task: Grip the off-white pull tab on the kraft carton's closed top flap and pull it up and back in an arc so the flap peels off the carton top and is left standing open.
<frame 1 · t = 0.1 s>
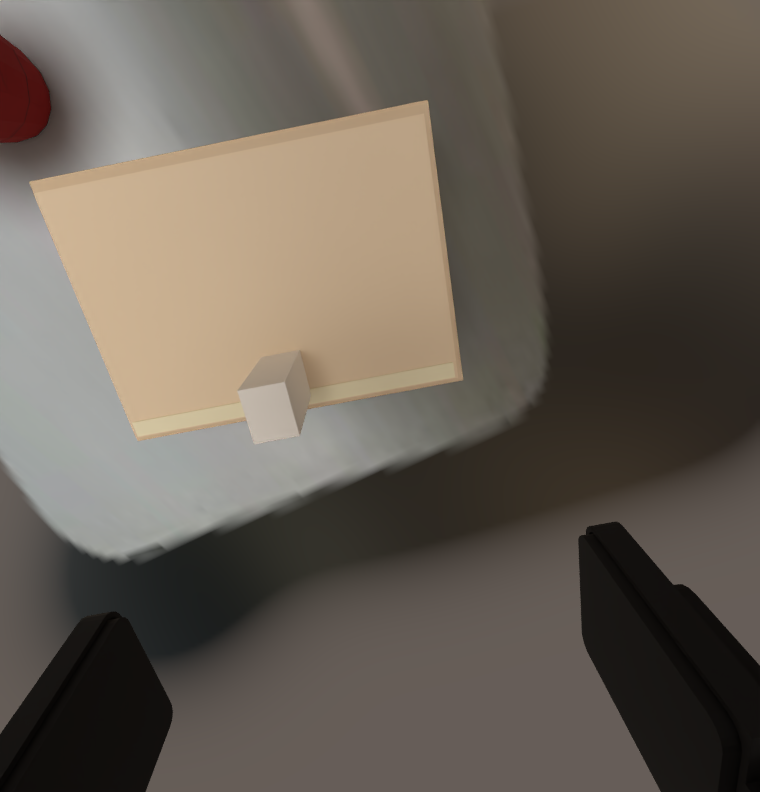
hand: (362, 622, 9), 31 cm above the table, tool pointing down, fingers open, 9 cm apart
flap: (254, 301, 24), point 13 cm above the table, hinge at 0.0°
plastic cup: (13, 98, 32), on the table
carton: (290, 272, 37), on the table
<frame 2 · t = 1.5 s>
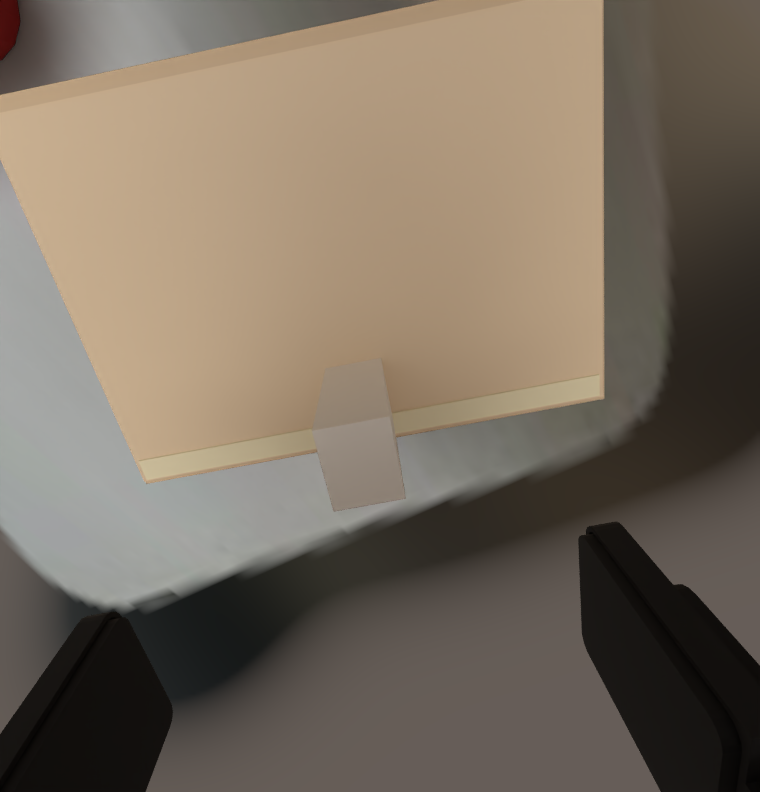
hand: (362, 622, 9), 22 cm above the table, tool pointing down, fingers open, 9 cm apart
flap: (329, 285, 16), point 13 cm above the table, hinge at 0.0°
carton: (342, 250, 28), on the table
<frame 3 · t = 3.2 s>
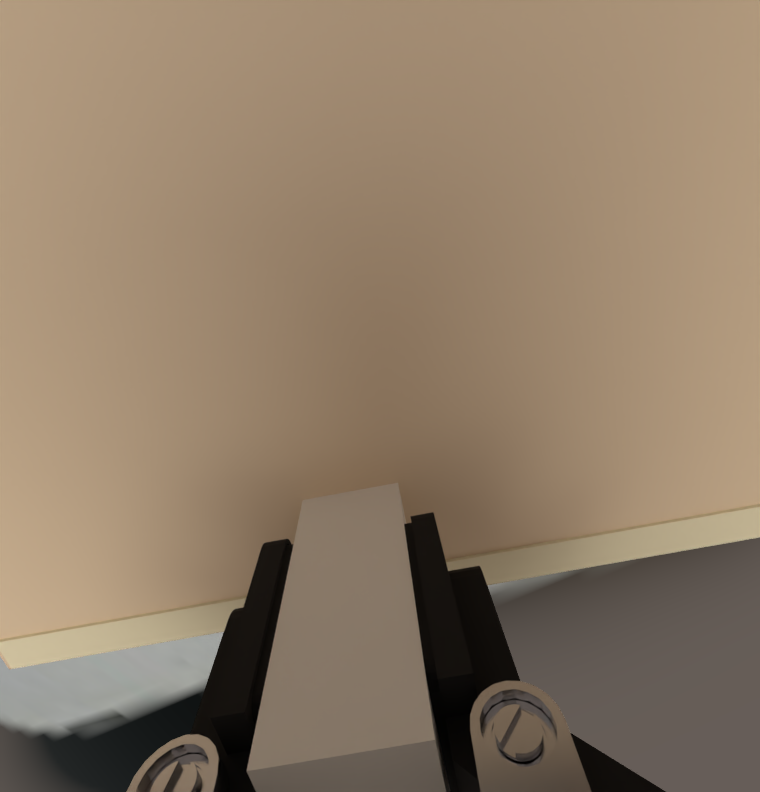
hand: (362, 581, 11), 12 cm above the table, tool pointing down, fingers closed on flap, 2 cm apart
flap: (299, 391, 8), point 13 cm above the table, hinge at 0.0°, touching gripper
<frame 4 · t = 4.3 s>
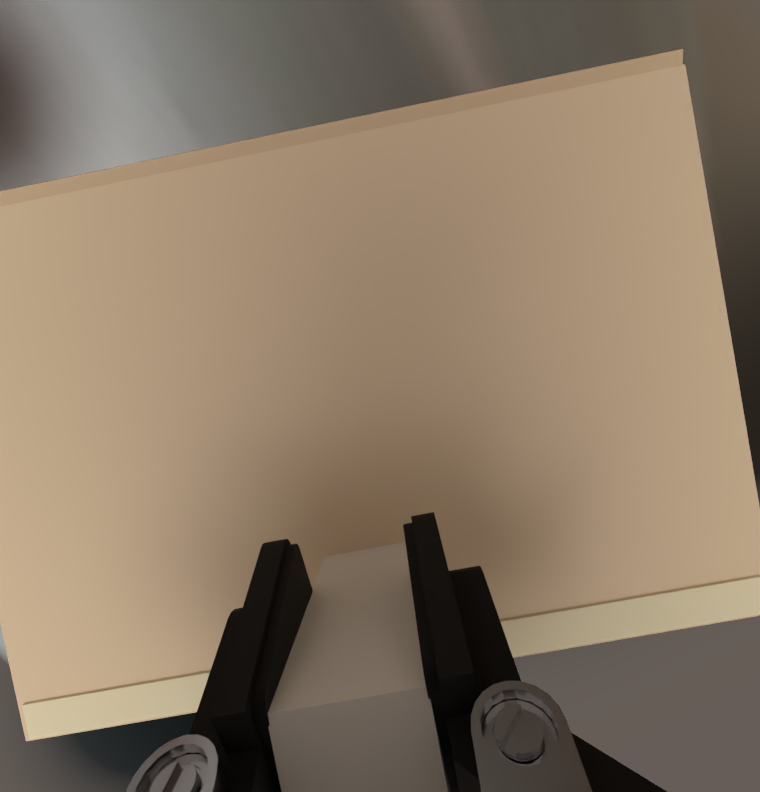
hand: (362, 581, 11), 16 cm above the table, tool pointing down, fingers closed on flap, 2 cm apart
flap: (328, 427, 10), point 16 cm above the table, hinge at 19.1°, touching gripper
carton: (353, 330, 25), on the table
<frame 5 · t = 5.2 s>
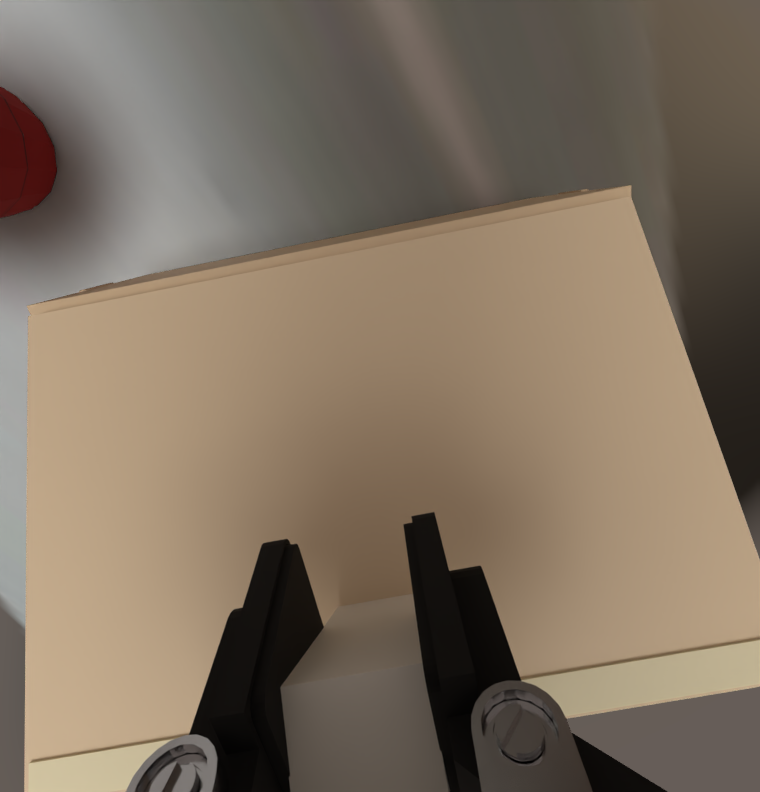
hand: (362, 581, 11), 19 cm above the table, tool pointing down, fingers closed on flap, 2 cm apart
flap: (345, 463, 11), point 17 cm above the table, hinge at 34.8°, touching gripper
plastic cup: (5, 157, 24), on the table
carton: (364, 370, 29), on the table
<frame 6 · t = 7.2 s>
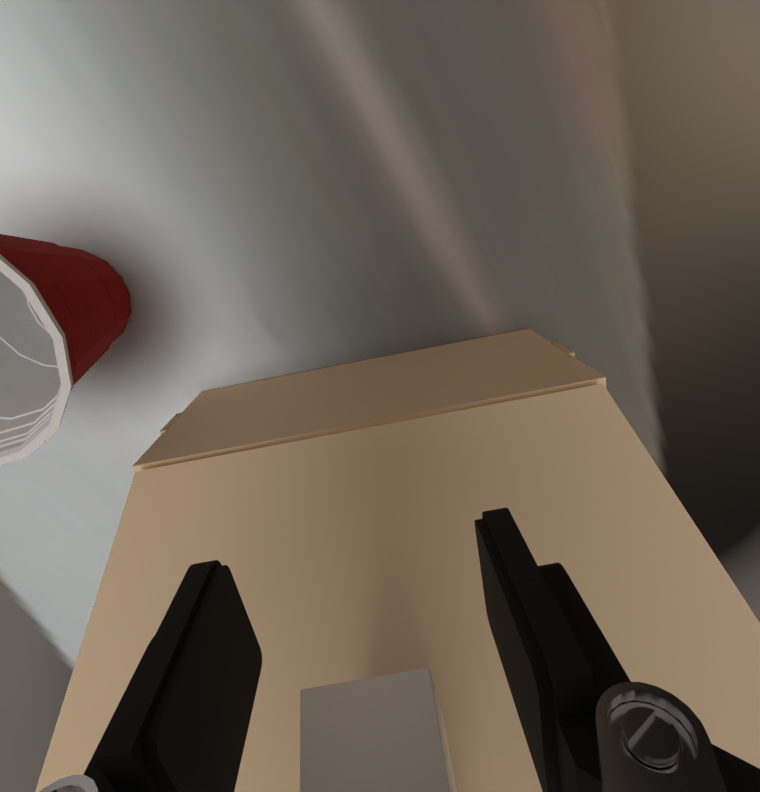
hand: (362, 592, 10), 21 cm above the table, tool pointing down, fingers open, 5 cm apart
flap: (372, 561, 13), point 18 cm above the table, hinge at 65.2°
plastic cup: (88, 301, 28), on the table
carton: (385, 464, 33), on the table
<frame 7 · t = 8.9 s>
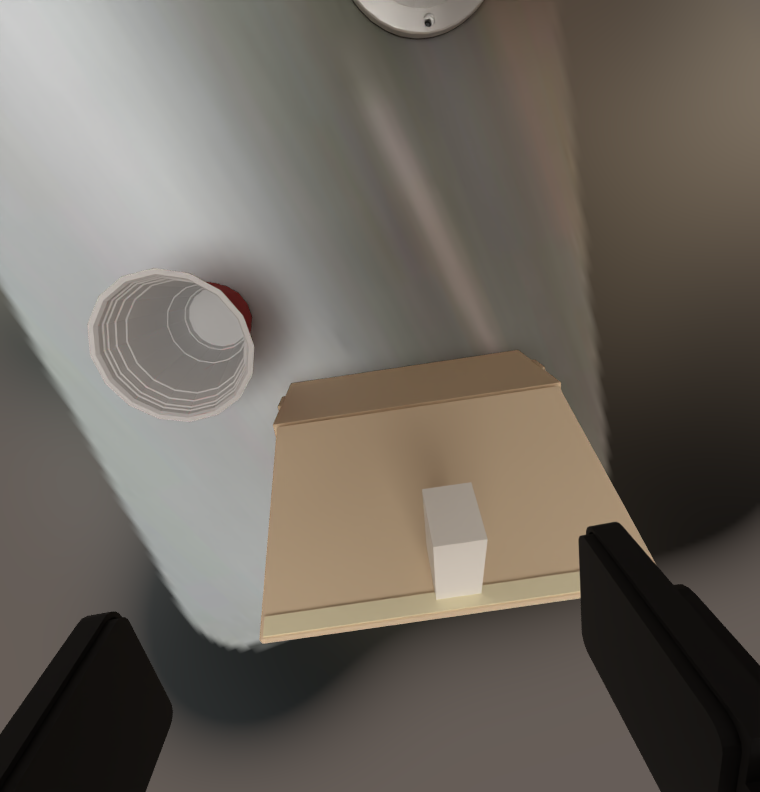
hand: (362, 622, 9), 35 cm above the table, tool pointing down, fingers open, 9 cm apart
flap: (434, 464, 27), point 18 cm above the table, hinge at 65.2°
plastic cup: (221, 318, 42), on the table
carton: (413, 441, 47), on the table
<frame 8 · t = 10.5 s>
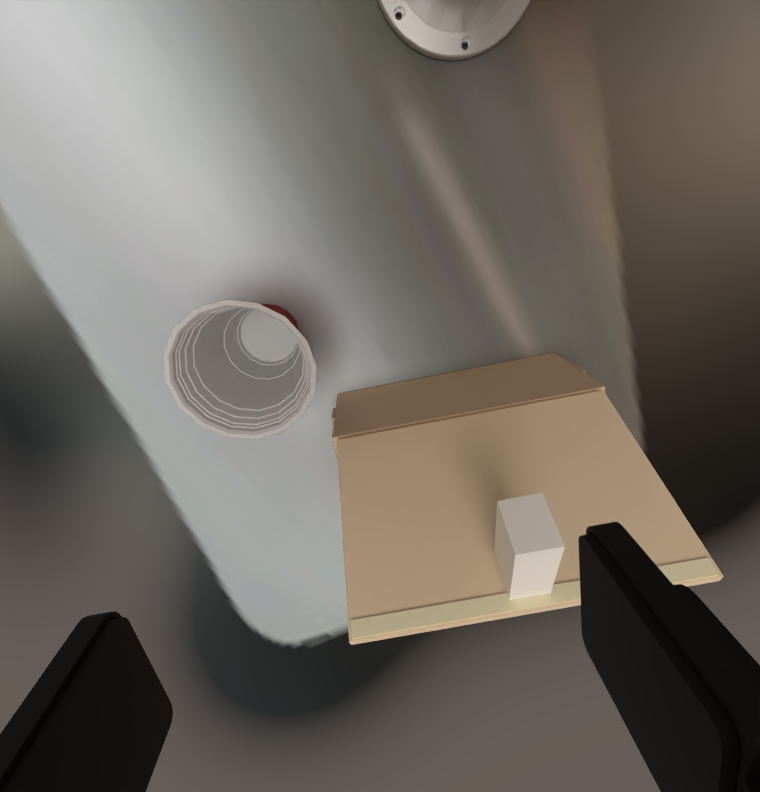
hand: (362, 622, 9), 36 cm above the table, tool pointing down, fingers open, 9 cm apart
flap: (497, 473, 29), point 18 cm above the table, hinge at 65.2°
plastic cup: (271, 335, 44), on the table
carton: (455, 443, 49), on the table
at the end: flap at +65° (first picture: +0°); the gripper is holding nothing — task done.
